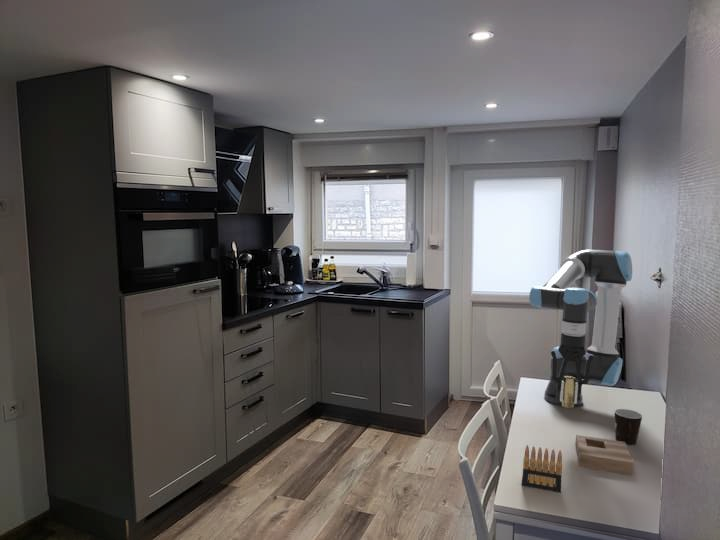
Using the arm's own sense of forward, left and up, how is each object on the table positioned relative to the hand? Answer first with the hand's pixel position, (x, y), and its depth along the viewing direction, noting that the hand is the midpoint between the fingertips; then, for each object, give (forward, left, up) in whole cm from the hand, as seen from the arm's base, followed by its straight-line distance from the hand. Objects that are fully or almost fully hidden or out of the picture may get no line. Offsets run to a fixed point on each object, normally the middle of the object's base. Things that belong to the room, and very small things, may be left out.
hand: (568, 401), depth 174 cm
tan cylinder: (0, 0, -2) cm, 2 cm away
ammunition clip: (+33, -8, -15) cm, 38 cm away
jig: (+8, +11, -15) cm, 20 cm away
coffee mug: (-9, +20, -15) cm, 26 cm away
